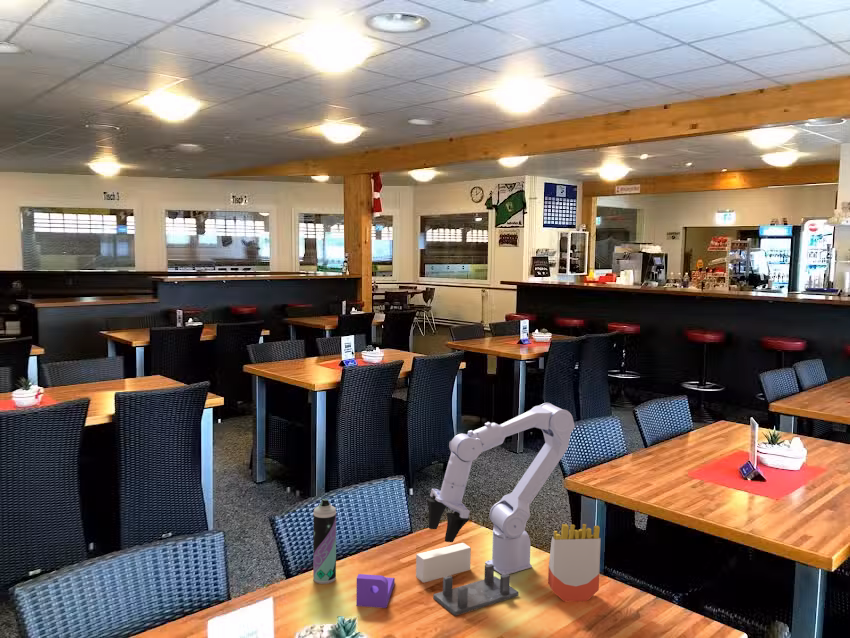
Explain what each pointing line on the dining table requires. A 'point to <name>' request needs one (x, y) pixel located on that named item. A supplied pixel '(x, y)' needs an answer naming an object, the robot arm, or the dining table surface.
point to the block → (443, 562)
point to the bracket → (373, 590)
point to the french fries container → (575, 563)
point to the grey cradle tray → (475, 593)
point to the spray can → (324, 543)
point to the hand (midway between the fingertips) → (440, 535)
